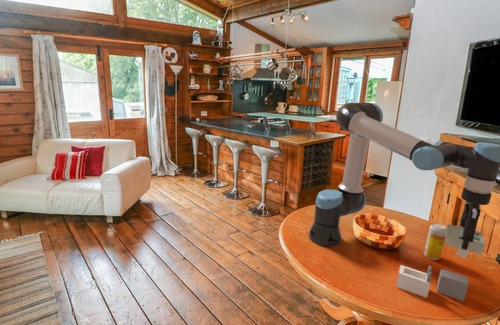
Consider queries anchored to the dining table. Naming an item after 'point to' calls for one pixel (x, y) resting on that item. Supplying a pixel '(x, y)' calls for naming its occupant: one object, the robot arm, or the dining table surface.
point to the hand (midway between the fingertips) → (460, 249)
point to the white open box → (414, 280)
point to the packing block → (452, 284)
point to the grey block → (453, 239)
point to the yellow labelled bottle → (435, 241)
